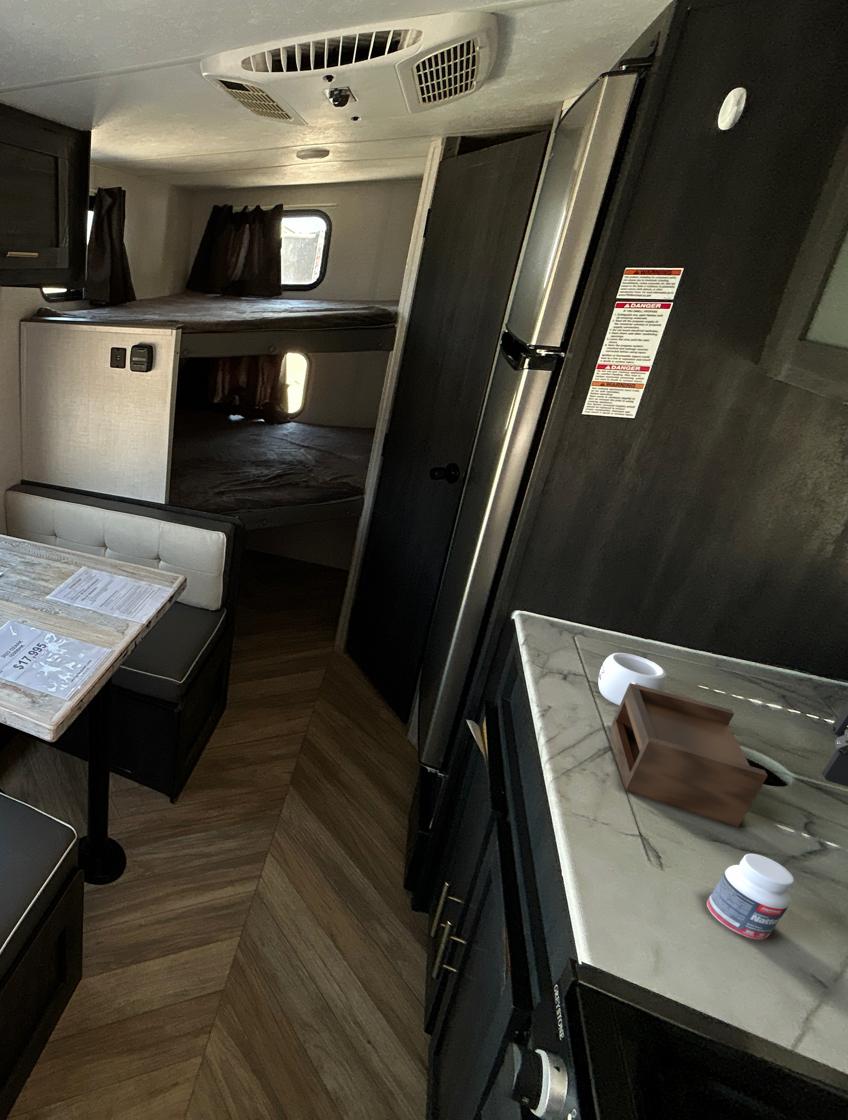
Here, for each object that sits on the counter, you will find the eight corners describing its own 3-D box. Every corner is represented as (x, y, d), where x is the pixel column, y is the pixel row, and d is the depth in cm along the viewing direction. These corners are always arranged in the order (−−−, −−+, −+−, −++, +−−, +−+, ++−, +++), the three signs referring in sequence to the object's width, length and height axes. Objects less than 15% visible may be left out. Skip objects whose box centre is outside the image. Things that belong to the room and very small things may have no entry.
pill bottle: (742, 946, 73) (777, 892, 69) (693, 903, 77) (723, 851, 74) (780, 939, 73) (816, 885, 70) (728, 897, 78) (760, 845, 75)
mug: (592, 680, 119) (606, 644, 116) (652, 699, 114) (669, 662, 111) (590, 712, 110) (605, 675, 107) (654, 734, 105) (672, 695, 102)
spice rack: (705, 760, 100) (731, 709, 96) (736, 831, 87) (767, 776, 83) (608, 731, 106) (629, 682, 102) (624, 793, 93) (648, 740, 89)
